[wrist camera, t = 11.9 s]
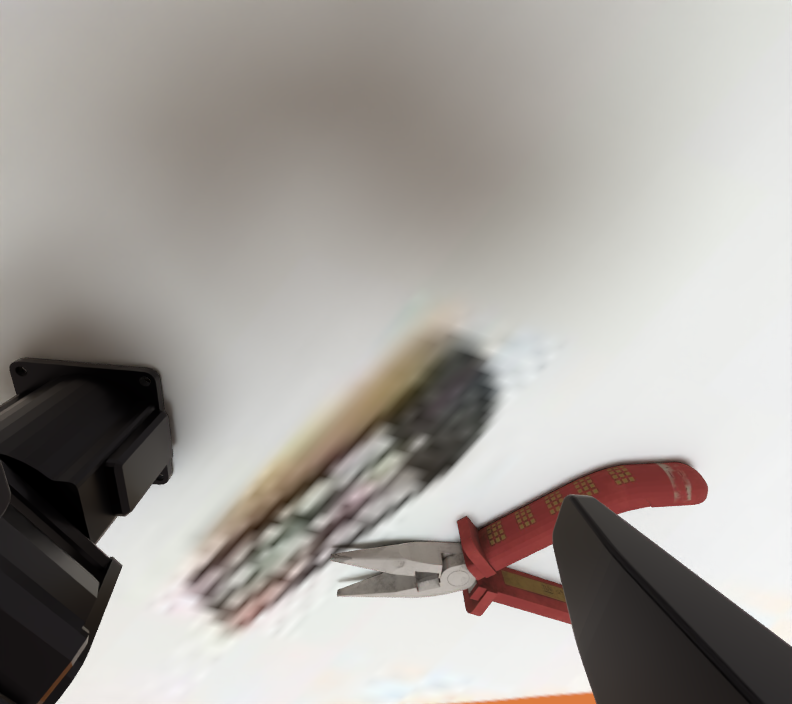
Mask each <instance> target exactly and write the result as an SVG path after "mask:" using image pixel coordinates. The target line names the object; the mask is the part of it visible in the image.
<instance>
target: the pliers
mask: <svg viewBox="0 0 792 704" xmlns="http://www.w3.org/2000/svg"><path fill="white" fill-rule="evenodd" d="M707 493H708V486H707V484H706V482H705V480H704V479H703V477H702V476H701V475H700V474H699V473H698V472H697V471H696V470H695V469H693V468H692V467H690V466H688V465H686V464H683V463H679V462H668V463H649V464H631V465H619V466H614V467H610V468H606V469H603V470H600V471H597V472H594V473H592V474H589V475H587V476H584V477H582V478H580V479H577V480H575V481H573V482H571V483H569V484H567V485H565V486H563V487H561V488H559V489H557V490H555V491H553V492H552V493H550V494H548V495H546V496H544V497H542V498H540V499H538V500H536V501H534V502H532V503H530V504H528V505H526V506H524V507H522V508H520V509H519V510H517V511H515V512H513V513H511V514H509V515H507V516H505V517H503V518H501V519H499V520H497V521H495V522H493V523H491V524H489V525H488V526H486V527H484V528H482V529H480V530H478V529H477V528H476V527H475V525H474V524H473V523H472V522H471V521H470V519H469V518H468V517H467V516H466V517H464V518H462V519H460V520H458V521H457V524H458V529H459V534H460V539H461V543H449V542H409V543H402V544H396V545H389V546H382V547H376V548H369V549H362V550H356V551H349V552H342V553H336V554H331V557H330V561H335V562H339V563H344V564H348V565H353V566H357V567H362V568H367V569H371V570H376V571H380V572H385V573H382V574H379V575H377V576H374V577H371V578H369V579H366V580H363V581H360V582H358V583H355V584H352V585H350V586H347V587H344V588H342V589H339V590H338V592H337V596H341V597H405V598H419V597H431V596H438V595H443V594H448V593H452V592H457V591H461V590H463V596H464V602H465V608H466V611H467V612H468V613H470V614H474V615H477V616H481V615H482V614H483V613H484V612H485V610H486V609H487V608H488V606H489V605H490V604H491V602H492V601H494V602H497V603H500V604H504V605H507V606H511V607H514V608H518V609H521V610H524V611H528V612H531V613H535V614H538V615H541V616H545V617H548V618H552V619H555V620H559V621H562V622H565V623H569V624H571V620H570V616H569V612H568V608H567V603H566V599H565V595H564V591H563V586H562V585H561V584H558V583H555V582H552V581H548V580H545V579H542V578H539V577H536V576H533V575H530V574H526V573H523V572H520V571H517V570H514V569H511V568H507V567H506V566H508V565H510V564H512V563H515V562H517V561H519V560H521V559H523V558H525V557H527V556H529V555H531V554H533V553H535V552H537V551H539V550H541V549H543V548H545V547H547V546H549V545H552V544H553V542H552V535H553V530H554V526H555V523H556V520H557V517H558V514H559V511H560V508H561V505H562V502H563V500H564V498H565V497H566V496H567V495H570V494H574V495H588V496H592V497H594V498H596V499H597V500H598V501H600V502H601V503H602V504H604V505H605V506H606V507H608V508H609V509H610V510H612V511H613V512H614V513H616V514H620V513H623V512H626V511H630V510H635V509H639V508H644V507H650V506H651V507H665V506H682V505H695V504H699V503H702V502H703V501H705V499H706V497H707Z"/></svg>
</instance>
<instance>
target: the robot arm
mask: <svg viewBox="0 0 792 704" xmlns="http://www.w3.org/2000/svg"><path fill="white" fill-rule="evenodd" d="M22 367H23V368H25V369H26V371H27V372H26V371H25V370H23V368H22ZM10 373H11V377H12V380H13V384H14V387H15V391H16V394H17V395H16V396H15V397H13V398H11V399H10V400H8V401H6V402H5V403H3V404H2V405H0V704H55V703H56V702H57V701H58V699H59V698H60V697H61V696H62V694H63V693H64V692H65V690H66V689H67V688H68V686H69V685H70V684H71V682H72V681H73V679H74V678H75V676H76V674H77V673H78V671H79V670H80V668H81V666H82V665H83V663H84V661H85V659H86V657H87V654H88V652H89V650H90V648H91V645H92V642H93V640H94V637H95V635H96V632H97V630H98V627H99V625H100V622H101V620H102V617H103V614H104V612H105V609H106V607H107V604H108V602H109V599H110V597H111V594H112V592H113V589H114V586H115V584H116V581H117V579H118V576H119V574H120V571H121V569H122V565H121V564H120V563H119V562H118V561H117V560H116V559H115V558H114V557H110V558H109V557H108V556H107V555H106V554H105V553H104V552H103V551H102V550H101V549H99V548H98V547H97V546H96V543H97V542H98V541H99V540H100V538H101V537H102V536H103V534H104V533H105V532H106V531H107V529H108V528H109V527H110V525H111V524H112V523H113V522H114V520H115V519H116V518H117V516H127V515H128V514H129V513H130V512H132V510H133V509H134V508H135V506H136V505H137V504H138V502H139V501H140V500H141V498H142V497H143V496H144V494H145V493H146V492H147V490H148V489H149V488H150V486H151V485H152V484H158V485H161V484H165V483H167V482H168V480H169V479H170V477H171V476H172V466H171V458H172V457H173V450H172V442H171V434H170V426H169V418H168V415H167V413H166V412H165V411H164V404H163V396H162V389H161V381H160V376H159V374H158V373H157V372H156V371H155V370H153V369H150V368H142V367H130V366H118V365H106V364H94V363H82V362H70V361H58V360H46V359H34V358H21V359H19V360H17V361H15V362H13V363H11V365H10ZM144 377H147V378H148V379H150V382H147V381H146V380H145V379H144ZM160 473H161V474H162V475H163V476H162V475H160ZM552 542H553V548H554V553H555V557H556V561H557V565H558V569H559V574H560V578H561V582H562V586H563V591H564V595H565V599H566V603H567V608H568V612H569V616H570V620H571V625H572V629H573V632H574V636H575V640H576V644H577V647H578V650H579V653H580V656H581V659H582V663H583V665H584V668H585V671H586V674H587V677H588V680H589V683H590V686H591V689H592V692H593V695H594V698H595V700H596V704H792V646H790V645H789V644H788V643H786V642H785V641H784V640H782V639H781V638H780V637H778V636H777V635H776V634H774V633H773V632H772V631H770V630H769V629H768V628H767V627H765V626H764V625H763V624H761V623H760V622H759V621H757V620H756V619H755V618H753V617H752V616H751V615H749V614H748V613H747V612H745V611H744V610H743V609H741V608H740V607H739V606H737V605H736V604H735V603H733V602H732V601H731V600H729V599H728V598H727V597H725V596H724V595H723V594H721V593H720V592H719V591H718V590H716V589H715V588H714V587H712V586H711V585H710V584H708V583H707V582H706V581H704V580H703V579H702V578H700V577H699V576H698V575H696V574H695V573H694V572H692V571H691V570H690V569H688V568H687V567H686V566H684V565H683V564H682V563H680V562H679V561H678V560H676V559H675V558H674V557H673V556H671V555H670V554H669V553H667V552H666V551H665V550H663V549H662V548H661V547H659V546H658V545H657V544H655V543H654V542H653V541H651V540H650V539H649V538H647V537H646V536H645V535H643V534H642V533H641V532H639V531H638V530H637V529H635V528H634V527H633V526H631V525H630V524H629V523H627V522H626V521H625V520H624V519H622V518H621V517H620V516H618V515H617V514H616V513H614V512H613V511H612V510H610V509H609V508H608V507H606V506H605V505H604V504H602V503H601V502H600V501H598V500H597V499H596V498H594V497H592V496H588V495H574V494H570V495H567V496H566V497H565V498H564V500H563V502H562V505H561V508H560V511H559V514H558V517H557V520H556V523H555V526H554V530H553V535H552Z"/></svg>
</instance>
